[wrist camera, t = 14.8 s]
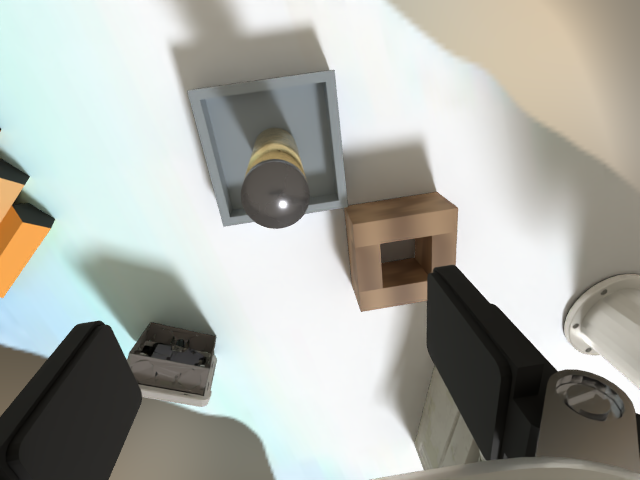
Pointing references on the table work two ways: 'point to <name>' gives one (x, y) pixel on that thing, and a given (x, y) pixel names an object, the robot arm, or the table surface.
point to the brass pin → (275, 181)
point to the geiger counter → (444, 431)
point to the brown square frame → (396, 225)
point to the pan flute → (17, 226)
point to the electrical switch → (174, 365)
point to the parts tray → (263, 113)
